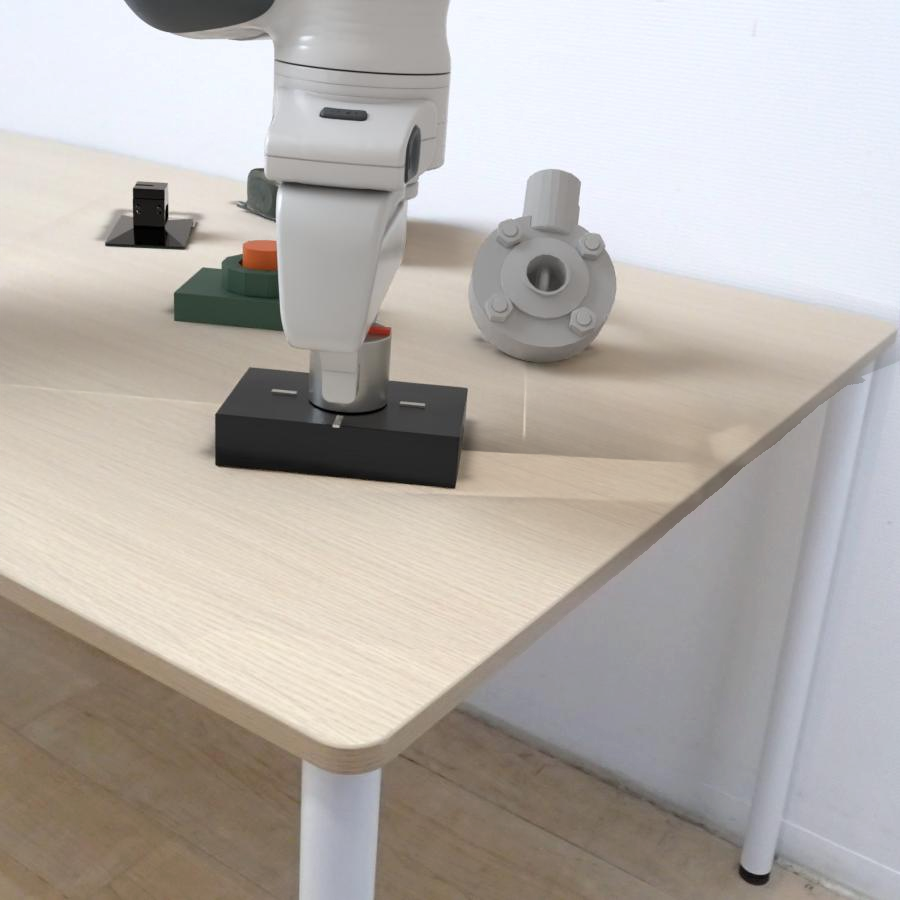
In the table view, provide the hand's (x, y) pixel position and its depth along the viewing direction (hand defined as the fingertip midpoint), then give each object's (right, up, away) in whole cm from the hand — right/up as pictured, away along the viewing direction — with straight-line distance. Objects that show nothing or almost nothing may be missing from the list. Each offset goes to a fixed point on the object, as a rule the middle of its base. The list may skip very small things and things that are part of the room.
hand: (348, 381), depth 65 cm
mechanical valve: (+12, +6, +27) cm, 30 cm away
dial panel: (0, -4, +2) cm, 4 cm away
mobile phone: (-11, +19, +56) cm, 60 cm away
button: (-8, +10, +24) cm, 27 cm away
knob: (0, -1, 0) cm, 1 cm away
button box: (-9, +7, +25) cm, 27 cm away
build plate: (-23, +17, +47) cm, 55 cm away
